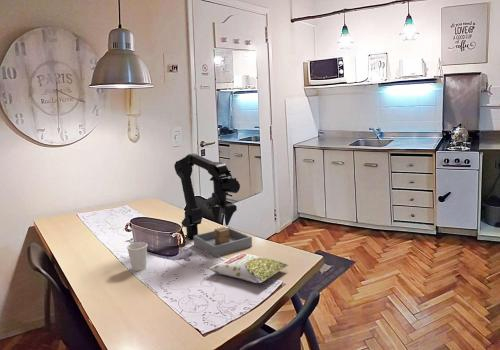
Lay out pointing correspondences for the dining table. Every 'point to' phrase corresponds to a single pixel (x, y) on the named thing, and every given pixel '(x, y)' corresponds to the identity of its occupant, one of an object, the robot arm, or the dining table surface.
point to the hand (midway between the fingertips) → (221, 223)
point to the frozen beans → (249, 267)
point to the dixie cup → (138, 255)
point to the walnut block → (221, 235)
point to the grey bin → (209, 245)
